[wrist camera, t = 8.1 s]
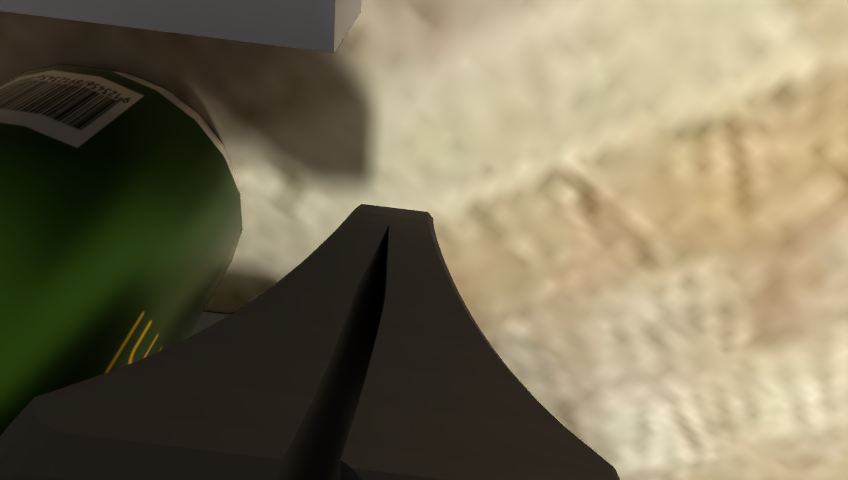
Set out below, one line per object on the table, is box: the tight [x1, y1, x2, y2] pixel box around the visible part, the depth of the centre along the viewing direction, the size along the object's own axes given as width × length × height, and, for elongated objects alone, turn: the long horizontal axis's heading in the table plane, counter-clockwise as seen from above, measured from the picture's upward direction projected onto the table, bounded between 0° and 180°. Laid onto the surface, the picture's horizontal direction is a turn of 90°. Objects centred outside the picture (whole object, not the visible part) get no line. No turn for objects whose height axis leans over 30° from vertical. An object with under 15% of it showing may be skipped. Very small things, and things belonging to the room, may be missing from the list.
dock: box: [0, 0, 361, 338], centre depth 12 cm, size 10×10×2 cm
